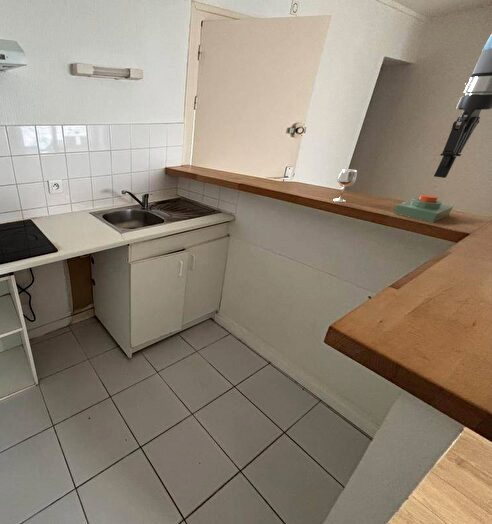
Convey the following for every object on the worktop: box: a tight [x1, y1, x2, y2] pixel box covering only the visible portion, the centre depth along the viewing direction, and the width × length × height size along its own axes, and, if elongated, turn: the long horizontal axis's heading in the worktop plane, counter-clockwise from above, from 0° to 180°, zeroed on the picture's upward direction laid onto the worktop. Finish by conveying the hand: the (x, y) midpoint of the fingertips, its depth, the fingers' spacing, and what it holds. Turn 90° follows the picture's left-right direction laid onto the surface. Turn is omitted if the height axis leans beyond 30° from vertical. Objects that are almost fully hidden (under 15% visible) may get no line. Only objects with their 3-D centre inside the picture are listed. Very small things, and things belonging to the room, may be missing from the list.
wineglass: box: [333, 168, 358, 203], centre depth 112 cm, size 6×6×12 cm
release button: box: [418, 193, 439, 203], centre depth 97 cm, size 4×4×2 cm
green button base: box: [392, 197, 454, 223], centre depth 98 cm, size 14×11×5 cm
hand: (439, 176), depth 93 cm, fingers closed
